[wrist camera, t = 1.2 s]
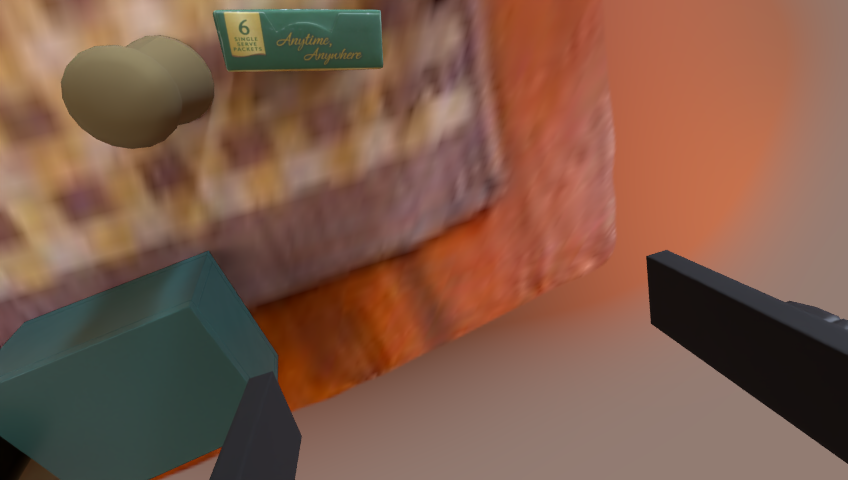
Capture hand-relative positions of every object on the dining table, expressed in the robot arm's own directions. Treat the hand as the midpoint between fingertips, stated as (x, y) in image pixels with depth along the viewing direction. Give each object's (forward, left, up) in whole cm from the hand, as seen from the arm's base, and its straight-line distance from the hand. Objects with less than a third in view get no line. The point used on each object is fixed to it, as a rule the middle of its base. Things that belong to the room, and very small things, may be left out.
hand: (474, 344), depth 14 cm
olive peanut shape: (-10, -11, -26) cm, 30 cm away
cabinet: (+10, -23, -26) cm, 36 cm away
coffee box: (-10, -1, -26) cm, 28 cm away
